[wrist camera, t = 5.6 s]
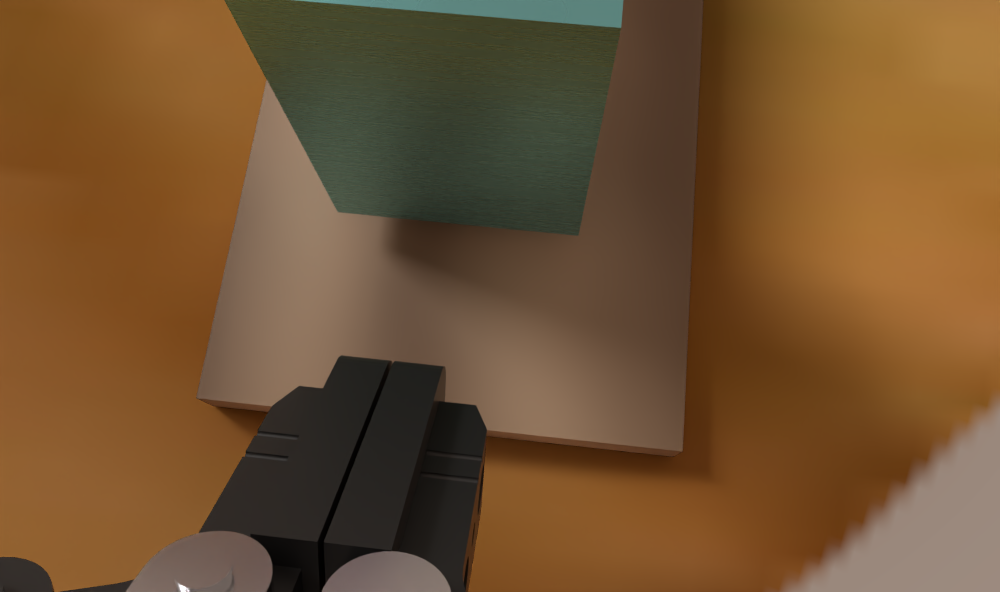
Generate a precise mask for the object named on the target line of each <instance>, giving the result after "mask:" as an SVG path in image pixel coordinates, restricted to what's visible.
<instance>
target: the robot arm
mask: <svg viewBox="0 0 1000 592" xmlns="http://www.w3.org/2000/svg"><path fill="white" fill-rule="evenodd" d="M445 389H446V368H445V366H437V365H428V364H419V363H410V362H401V361H394V362H393V363H392V361H390V360H380V359H371V358H362V357H353V356H344V355H341V356H340V357H339V358H338V359H337V361H336V363H335V365H334V367H333V369H332V371H331V373H330V375H329V377H328V379H327V381H326V383H325V385H324V387H323V388H315V387H306V386H298V387H297V388H295V389H294V390H293V391H291V392H290V393H289V394H287V395H286V396H285V397H283V398H282V399H281V400H279V401H278V402H276V403H275V404H274V405H272V407H271V409H270V410H269V412H268V414H267V416H266V417H265V419H264V421H263V422H262V424H261V426H260V428H259V429H258V434H257V436H254V438H253V440H252V442H251V443H250V445H249V447H248V448H247V450H246V455H245V457H242V459H241V461H240V462H239V464H238V466H237V468H236V469H235V471H234V473H233V474H232V476H231V478H230V480H229V481H228V483H227V485H226V487H225V488H224V490H223V492H222V494H221V495H220V497H219V499H218V500H217V502H216V504H215V506H214V507H213V509H212V511H211V513H210V514H209V516H208V518H207V520H206V521H205V523H204V525H203V526H202V528H201V530H200V532H199V533H198V534H194V535H190V536H188V537H185V538H182V539H180V540H178V541H176V542H174V543H172V544H170V545H168V546H167V547H165V548H164V549H162V550H161V551H159V552H158V553H157V554H156V555H155V556H153V557H152V558H151V559H150V560H149V561H148V563H147V564H146V565H145V566H144V567H143V569H142V570H141V571H140V573H139V574H138V575H137V577H136V578H135V579H134V580H130V581H127V582H122V583H117V584H111V585H104V586H97V587H90V588H83V589H76V590H69V591H62V592H468V588H469V582H470V576H471V569H472V563H473V557H474V551H475V544H476V538H477V532H478V526H479V520H480V514H481V503H482V490H483V476H484V463H485V450H486V437H487V428H486V426H485V424H484V422H483V419H482V417H481V415H480V413H479V410H478V408H477V406H476V405H470V404H461V403H452V402H445ZM0 592H54V589H53V586H52V582H51V579H50V577H49V575H48V573H47V572H46V571H45V570H44V569H43V568H42V567H41V566H39V565H38V564H36V563H34V562H31V561H29V560H26V559H21V558H15V557H0Z"/></svg>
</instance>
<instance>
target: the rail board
mask: <svg viewBox="0 0 1000 592" xmlns="http://www.w3.org/2000/svg"><path fill="white" fill-rule="evenodd" d="M702 20H703V0H623V11H622V24H621V31H620V36H619V41H618V46H617V51H616V56H615V60H614V65H613V70H612V75H611V80H610V85H609V90H608V95H607V99H606V104H605V109H604V114H603V119H602V124H601V129H600V133H599V138H598V143H597V148H596V153H595V158H594V163H593V168H592V172H591V177H590V182H589V187H588V192H587V197H586V202H585V206H584V211H583V216H582V221H581V226H580V231H579V236H575V235H565V234H555V233H544V232H534V231H524V230H514V229H503V228H493V227H483V226H473V225H462V224H452V223H442V222H432V221H421V220H411V219H401V218H391V217H380V216H370V215H360V214H350V213H339V212H337V210H336V208H335V206H334V204H333V202H332V201H331V199H330V197H329V195H328V193H327V191H326V189H325V187H324V186H323V184H322V182H321V180H320V178H319V176H318V174H317V172H316V171H315V169H314V167H313V165H312V163H311V161H310V159H309V157H308V156H307V154H306V152H305V150H304V148H303V146H302V144H301V142H300V141H299V139H298V137H297V135H296V133H295V131H294V129H293V127H292V126H291V124H290V122H289V120H288V118H287V116H286V114H285V113H284V111H283V109H282V107H281V105H280V103H279V101H278V99H277V98H276V96H275V94H274V92H273V90H272V88H271V86H270V84H269V83H268V81H266V85H265V90H264V94H263V99H262V103H261V108H260V112H259V117H258V121H257V126H256V130H255V135H254V139H253V144H252V148H251V153H250V157H249V162H248V166H247V171H246V176H245V180H244V185H243V189H242V194H241V198H240V203H239V207H238V212H237V216H236V221H235V225H234V230H233V234H232V239H231V243H230V248H229V252H228V257H227V261H226V266H225V270H224V275H223V279H222V284H221V288H220V293H219V297H218V302H217V306H216V311H215V316H214V320H213V325H212V329H211V334H210V338H209V343H208V347H207V352H206V356H205V361H204V365H203V370H202V374H201V379H200V383H199V388H198V392H197V397H196V398H197V399H199V400H201V401H204V402H206V403H208V404H210V405H212V406H218V407H227V408H236V409H246V410H255V411H264V412H269V410H270V409H271V407H272V405H274V404H275V403H276V402H278V401H279V400H281V399H282V398H283V397H285V396H286V395H287V394H289V393H290V392H291V391H293V390H294V389H295V388H297V387H298V386H306V387H315V388H323V387H324V385H325V383H326V381H327V379H328V377H329V375H330V373H331V371H332V369H333V367H334V365H335V363H336V361H337V359H338V358H339V357H340V356H341V355H344V356H353V357H362V358H371V359H380V360H390V361H392V363H393V362H394V361H401V362H410V363H419V364H428V365H437V366H445V368H446V389H445V402H452V403H461V404H470V405H476V406H477V408H478V410H479V413H480V415H481V417H482V419H483V422H484V424H485V426H486V428H487V436H490V437H499V438H509V439H518V440H527V441H536V442H545V443H554V444H563V445H572V446H581V447H590V448H599V449H608V450H617V451H626V452H635V453H645V454H654V455H663V456H672V457H674V456H676V455H677V454H679V453H681V452H683V433H684V412H685V390H686V368H687V346H688V325H689V303H690V281H691V259H692V237H693V216H694V194H695V172H696V150H697V129H698V107H699V85H700V63H701V42H702Z"/></svg>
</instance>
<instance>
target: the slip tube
mask: <svg viewBox="0 0 1000 592" xmlns="http://www.w3.org/2000/svg"><path fill="white" fill-rule="evenodd" d="M225 2H226V4H227V6H228V8H229V10H230V11H231V13H232V15H233V17H234V19H235V21H236V23H237V25H238V26H239V28H240V30H241V32H242V34H243V36H244V38H245V40H246V41H247V43H248V45H249V47H250V49H251V51H252V53H253V54H254V56H255V58H256V60H257V62H258V64H259V66H260V68H261V69H262V71H263V73H264V75H265V77H266V79H267V81H268V83H269V84H270V86H271V88H272V90H273V92H274V94H275V96H276V98H277V99H278V101H279V103H280V105H281V107H282V109H283V111H284V113H285V114H286V116H287V118H288V120H289V122H290V124H291V126H292V127H293V129H294V131H295V133H296V135H297V137H298V139H299V141H300V142H301V144H302V146H303V148H304V150H305V152H306V154H307V156H308V157H309V159H310V161H311V163H312V165H313V167H314V169H315V171H316V172H317V174H318V176H319V178H320V180H321V182H322V184H323V186H324V187H325V189H326V191H327V193H328V195H329V197H330V199H331V201H332V202H333V204H334V206H335V208H336V210H337V212H339V213H350V214H360V215H370V216H380V217H391V218H401V219H411V220H421V221H432V222H442V223H452V224H462V225H473V226H483V227H493V228H503V229H514V230H524V231H534V232H544V233H555V234H565V235H575V236H579V231H580V226H581V221H582V216H583V211H584V206H585V202H586V197H587V192H588V187H589V182H590V177H591V172H592V168H593V163H594V158H595V153H596V148H597V143H598V138H599V133H600V129H601V124H602V119H603V114H604V109H605V104H606V99H607V95H608V90H609V85H610V80H611V75H612V70H613V65H614V60H615V56H616V51H617V46H618V41H619V36H620V31H621V24H622V11H623V0H225Z"/></svg>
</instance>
